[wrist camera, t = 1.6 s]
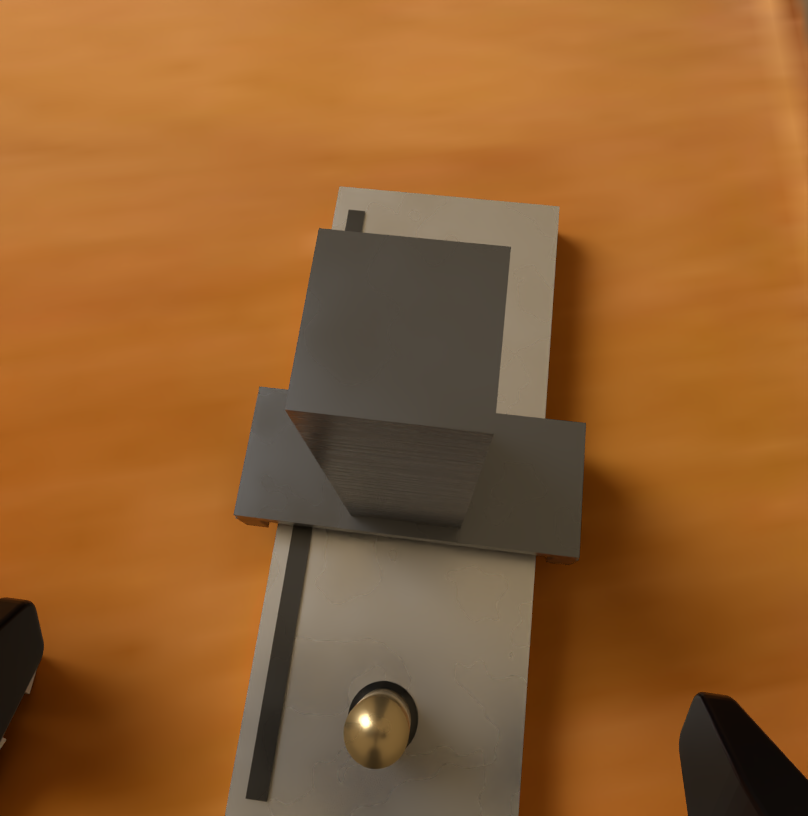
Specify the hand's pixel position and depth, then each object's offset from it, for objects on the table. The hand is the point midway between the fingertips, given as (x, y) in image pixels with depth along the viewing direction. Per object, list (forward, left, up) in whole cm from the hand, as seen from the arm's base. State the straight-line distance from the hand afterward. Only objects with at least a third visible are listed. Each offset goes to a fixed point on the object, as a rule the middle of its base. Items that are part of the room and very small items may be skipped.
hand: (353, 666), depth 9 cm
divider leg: (+4, -3, -13) cm, 14 cm away
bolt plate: (+4, -3, -13) cm, 14 cm away
